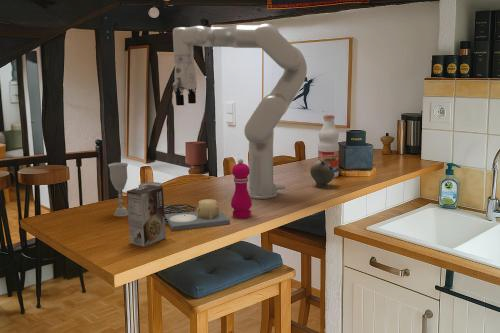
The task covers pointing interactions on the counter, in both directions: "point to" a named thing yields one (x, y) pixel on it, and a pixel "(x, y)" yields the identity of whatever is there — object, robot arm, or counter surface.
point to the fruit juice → (329, 144)
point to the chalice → (119, 183)
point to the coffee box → (146, 215)
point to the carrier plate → (198, 217)
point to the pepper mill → (241, 191)
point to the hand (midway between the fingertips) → (186, 104)
